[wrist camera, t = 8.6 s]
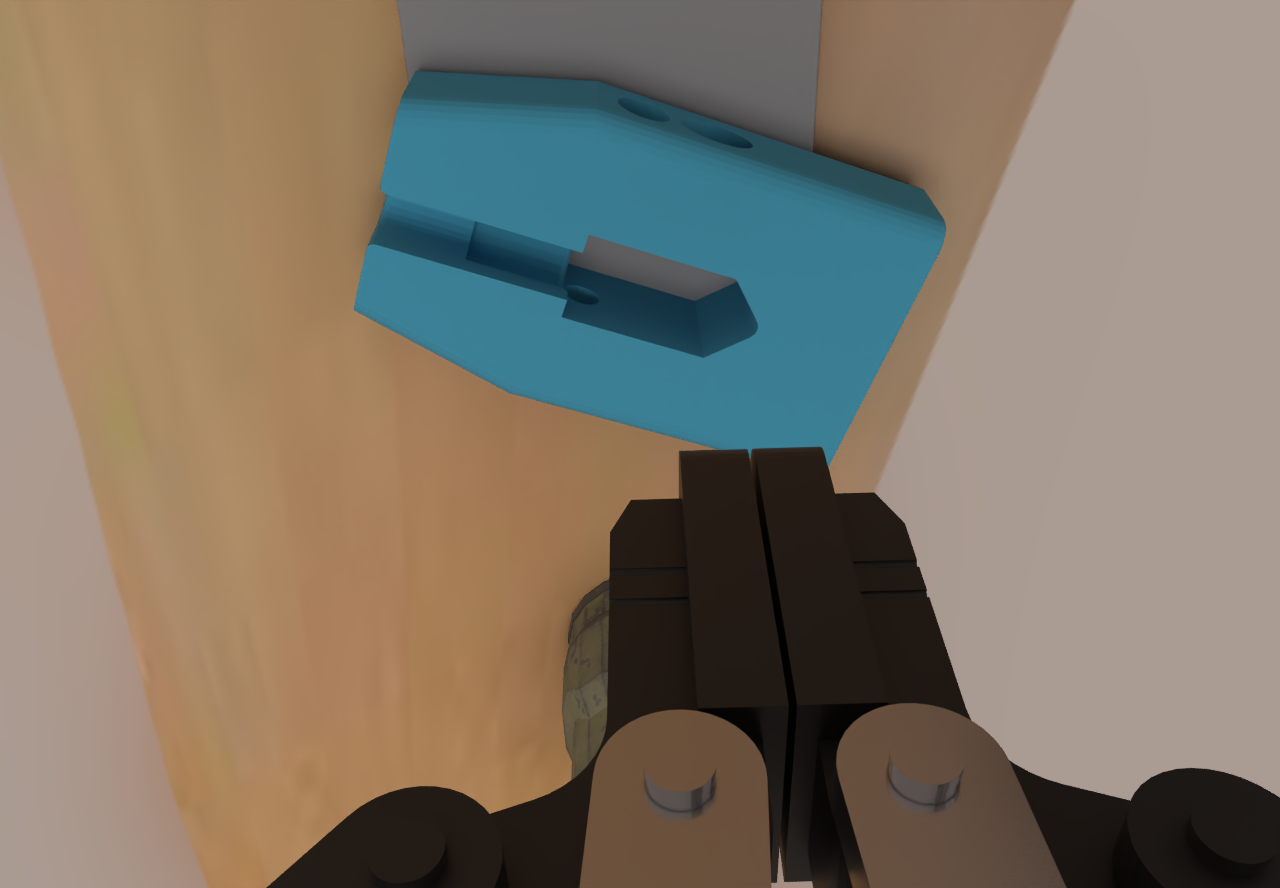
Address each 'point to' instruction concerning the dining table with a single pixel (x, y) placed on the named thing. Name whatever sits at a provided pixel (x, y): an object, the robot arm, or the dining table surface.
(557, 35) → the mat
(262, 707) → the dining table surface
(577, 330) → the block
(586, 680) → the olive green pouch
